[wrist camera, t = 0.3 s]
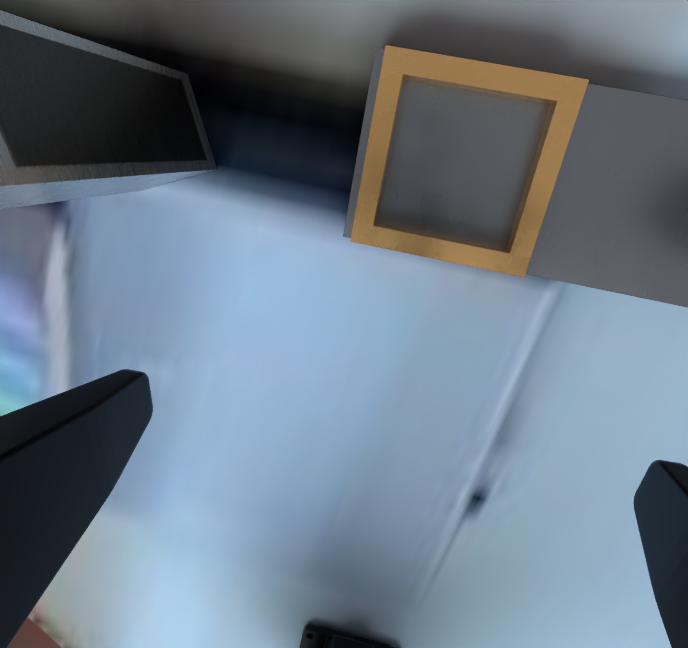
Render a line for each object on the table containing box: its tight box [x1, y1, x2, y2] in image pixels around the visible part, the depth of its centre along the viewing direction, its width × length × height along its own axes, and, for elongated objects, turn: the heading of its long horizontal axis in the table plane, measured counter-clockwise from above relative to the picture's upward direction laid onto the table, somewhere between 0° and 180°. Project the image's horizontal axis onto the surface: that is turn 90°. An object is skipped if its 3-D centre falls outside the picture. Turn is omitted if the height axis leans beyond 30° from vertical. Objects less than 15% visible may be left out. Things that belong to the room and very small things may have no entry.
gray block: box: [0, 11, 217, 209], centre depth 15 cm, size 4×4×12 cm
